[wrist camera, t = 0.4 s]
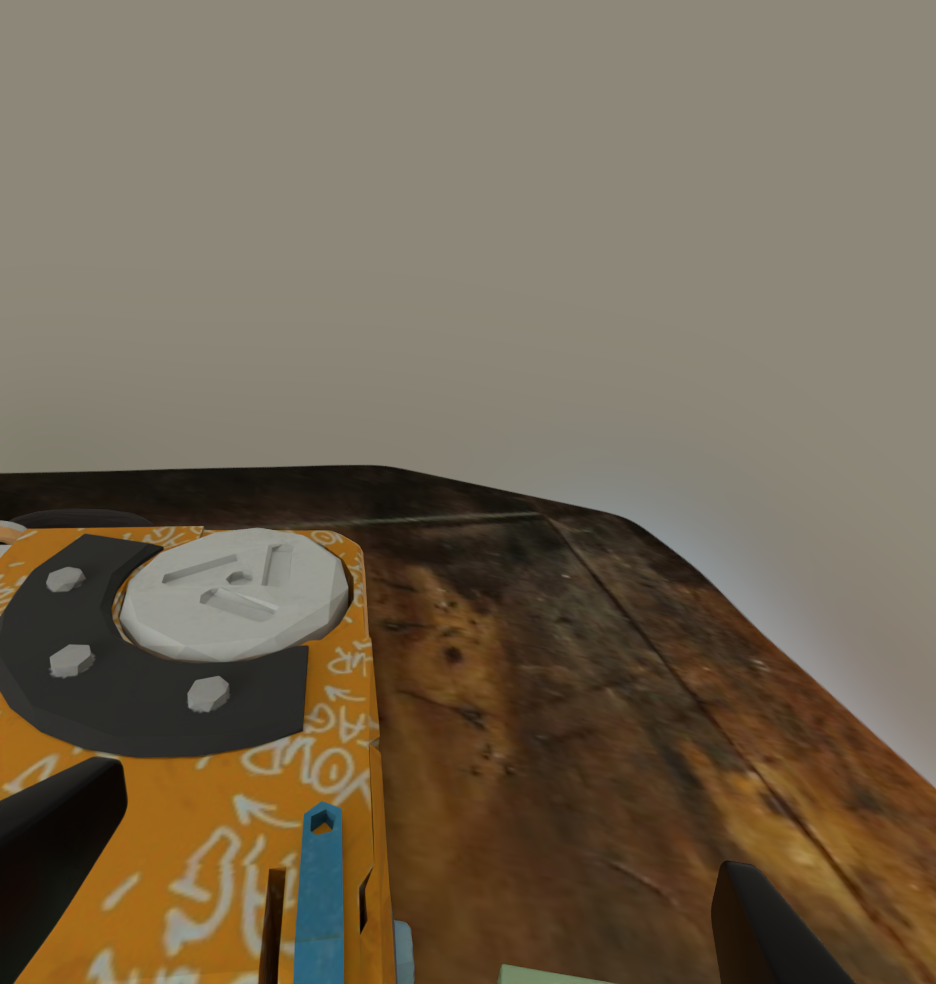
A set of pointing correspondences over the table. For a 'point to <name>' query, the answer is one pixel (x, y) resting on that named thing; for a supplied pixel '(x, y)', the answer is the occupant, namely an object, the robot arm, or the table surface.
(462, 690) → the table surface
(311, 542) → the device
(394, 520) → the table surface
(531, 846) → the table surface
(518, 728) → the table surface
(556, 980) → the switch box
